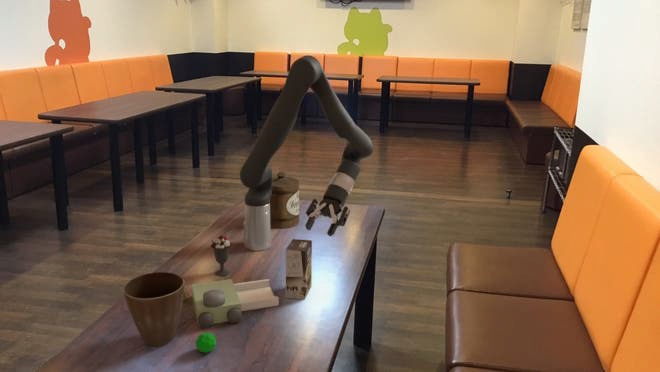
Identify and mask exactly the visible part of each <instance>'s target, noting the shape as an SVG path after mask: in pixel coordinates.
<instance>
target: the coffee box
mask: <svg viewBox="0 0 660 372" xmlns="http://www.w3.org/2000/svg"><path fill="white" fill-rule="evenodd" d="M312 242H313V240H310V239H297V238H296V239H295V238H293V239H292V240H291V241H290V243H289V244H288V245H287V247H286V248H285V298H288V299H298V300H303V301H304V300H306V298H307V296H308V294H309V293H310V290H311V288H312V286H313V285H312V284H313V281H312V280H313V279H312V277H313V276H312V274H313V273H312V269H313V268H312V267H313V265H312V262H313V261H312V255H313V254H312V253H313V243H312Z"/></svg>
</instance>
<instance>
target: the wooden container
mask: <svg viewBox="0 0 660 372" xmlns="http://www.w3.org/2000/svg"><path fill="white" fill-rule="evenodd" d="M299 222H300V180H299V179H297V178H295V177H291V176H286V173H285V172H284V171H279V172H277V175H276V176H272V194H271V197H270V228H275V229H288V228H292V227H296V226H298V224H299Z"/></svg>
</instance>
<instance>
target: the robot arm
mask: <svg viewBox="0 0 660 372" xmlns="http://www.w3.org/2000/svg"><path fill="white" fill-rule="evenodd" d="M309 90H312V92H313V93H314V95H315V97H316V98H317V99H318V102H319V104H320V106H321V109H322V111H323V114H324V116H325V118H326V120H327V122H328V123H329V125H330V126H331V128H332V130H334V132H335V133H336V135H337V136H338V137H339V138H340V139H346V141H348V143H347V145H346V146H345V147H344V150H343V152H342V155H341V156H342V157H341V159H340V160H341V162H340V164H339V165H338V168H337V170H336V172H335V174H334V175H333V176H332V178H331V180H330V182H329V184H328V185H327V188H326V190H325V192H324V193H323V197H322V200H321V201H318V200H317V199H316V198H314V199H312V201H311V202H310V204H309V206H308V207H307V210H306V211H305V214H306V216H307V217H308V219H307V221H306V223H305V229H306V230H307V231H311V229H312V228H313V226H314V223H315V220H317V219H319V218H322V217H326V218H329V219H332V223H330V225H329V228H328V230H327V231H326V234H327V236H328V237H332V236H334V234H335V233H336V231H337V229H338V227H345V225H346V224H347V222H348V221H347V220H348V218H349V216H350V213H351V210H350V209H349V207H348V206H347V205H346V206H345V204H346V202H347V201H348V198H349V197H350V194H351V193H352V190H353V187H354V184H355V183H356V181H357V178H358V176H359V174H360V171H361V168H360V165H359V163H360V162H361V160H363V159H366V158H369V157H370V156H371V155H372V154H373V152H374V144H373V142H372V141H373V140H372V139H371V138H370V137H369V135H367V133H366V132H364V131H363V130H362V128H360V127H359V126H358V125H357V124H356V123H355V121H354V120H353V118H352V117H351V116H350V114H349V112H348V111H347V110H346V109H345V107H344V105H343V104H342V102H341V101H340V99H339V97H338V96H337V94H336V93H335V90H334V89H333V87H332V85H331V83H330V81H329V79H328V77H327V75H326V73H325V71H324V69H323V66H322V65H321V62H320V60H318V58H316V57H315V56H313V55H304V56H300V57H299V58H297V59H295V60H294V61H293V63H292V64H291V66H290V68H289V71H288V74H287V76H286V80H285V82H284V84H283V88H282V90H281V93H280V94H279V96H278V98H277V99H276V101H275V103H274V105H273V106H272V108H271V109H270V111H269V114H268V116H267V118H266V120H265V122H264V124H263V127H262V128H261V131H260V133H259V135H258V138H257V140H256V142H255V144H254V147H253V148H252V150H251V152H250V154H249V155H248V157H247V159H246V160H245V162H244V163H243V165H242V166H241V169H240V171H239V179H240V182H241V183H242V185H243V186H244V187H245V188H248V191H247V193H246V194H245V195H244V217H245V218H244V221H243V245H244V246H245V248H246V249H247V250H251V251H254V252H255V251H257V252H258V251H260V252H261V251H265V250H268V249H269V248H271V243H272V241H271V240H272V239H271V237H272V236H271V235H272V231H271V227H270V197H271V194H272V177H273V170H272V167H271V164H270V161H271V159H272V158H273V157H274V155H275V154H276V153H277V151H279V150H280V149H281V147H282V146H283V145H284V144H285V142H286V140H287V139H288V137H289V136H290V134H291V132H292V130H293V128H294V126H295V123H296V122H297V118H298V114H299V110H300V106H301V104H302V101H303V99H304V98H305V96H306V94H307V92H308V91H309ZM339 214H340V217H339Z"/></svg>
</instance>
